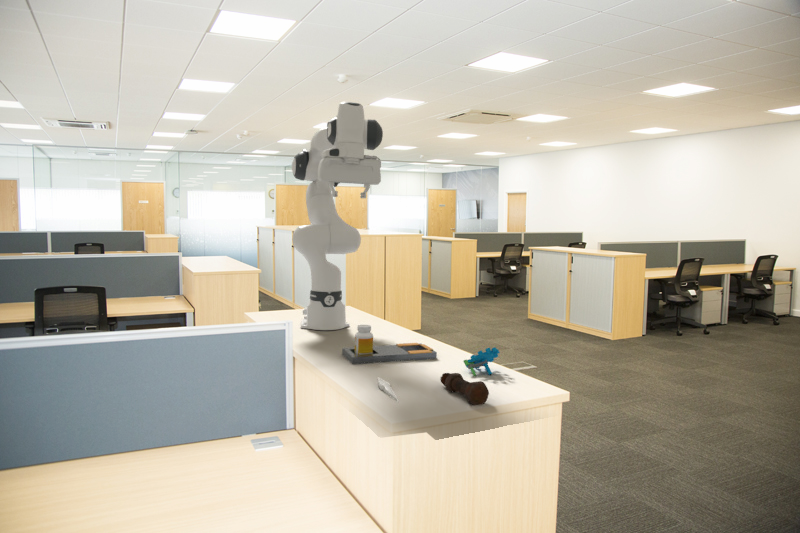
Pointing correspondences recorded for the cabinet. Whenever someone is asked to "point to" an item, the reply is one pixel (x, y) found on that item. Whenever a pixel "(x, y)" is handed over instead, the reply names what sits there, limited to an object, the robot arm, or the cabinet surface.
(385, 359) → the gray and orange holder
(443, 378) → the bolt
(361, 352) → the supplement bottle
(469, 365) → the blue lobed piece
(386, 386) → the stone spearhead
